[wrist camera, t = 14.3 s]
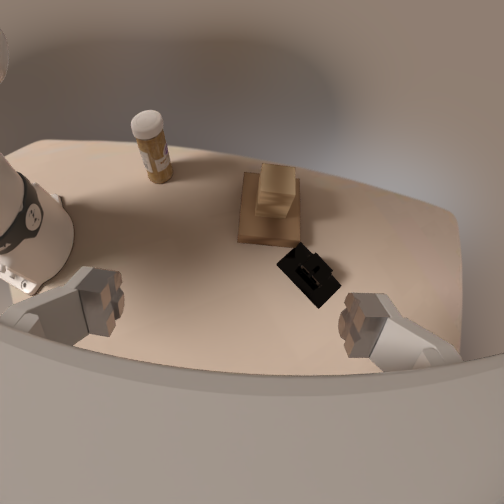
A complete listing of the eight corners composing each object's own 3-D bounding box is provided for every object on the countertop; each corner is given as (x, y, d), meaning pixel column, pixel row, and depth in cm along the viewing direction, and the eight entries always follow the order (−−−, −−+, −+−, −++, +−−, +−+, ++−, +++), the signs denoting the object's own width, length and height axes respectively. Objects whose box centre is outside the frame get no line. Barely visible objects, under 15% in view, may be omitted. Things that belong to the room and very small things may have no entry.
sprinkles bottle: (174, 181, 47) (162, 126, 35) (148, 186, 46) (129, 134, 34) (171, 161, 49) (161, 106, 36) (147, 166, 48) (130, 112, 35)
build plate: (265, 261, 45) (269, 251, 40) (297, 233, 47) (305, 221, 42) (320, 321, 42) (331, 317, 38) (350, 289, 44) (363, 282, 40)
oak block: (254, 215, 43) (260, 190, 36) (256, 190, 45) (262, 163, 38) (284, 219, 43) (295, 195, 37) (285, 193, 45) (295, 167, 38)
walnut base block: (237, 242, 44) (238, 234, 42) (243, 182, 48) (244, 172, 46) (295, 248, 45) (300, 240, 42) (295, 188, 49) (299, 178, 46)
